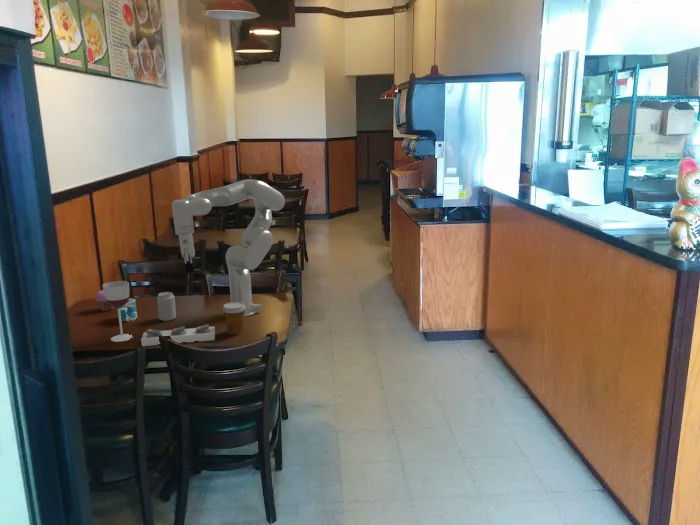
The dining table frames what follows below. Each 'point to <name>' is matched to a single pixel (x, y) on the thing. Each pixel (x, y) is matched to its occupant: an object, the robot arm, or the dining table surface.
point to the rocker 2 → (202, 328)
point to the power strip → (180, 336)
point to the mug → (128, 311)
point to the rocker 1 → (153, 332)
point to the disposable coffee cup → (234, 317)
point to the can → (166, 306)
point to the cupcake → (103, 301)
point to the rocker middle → (178, 330)
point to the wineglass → (117, 302)
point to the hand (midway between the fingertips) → (189, 272)
